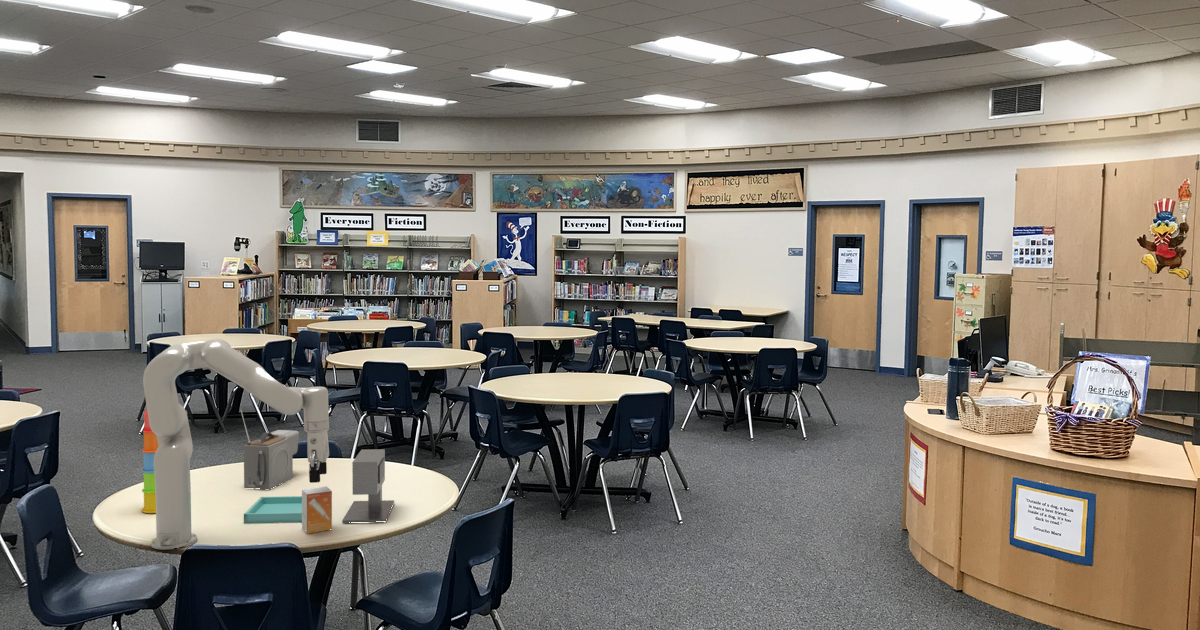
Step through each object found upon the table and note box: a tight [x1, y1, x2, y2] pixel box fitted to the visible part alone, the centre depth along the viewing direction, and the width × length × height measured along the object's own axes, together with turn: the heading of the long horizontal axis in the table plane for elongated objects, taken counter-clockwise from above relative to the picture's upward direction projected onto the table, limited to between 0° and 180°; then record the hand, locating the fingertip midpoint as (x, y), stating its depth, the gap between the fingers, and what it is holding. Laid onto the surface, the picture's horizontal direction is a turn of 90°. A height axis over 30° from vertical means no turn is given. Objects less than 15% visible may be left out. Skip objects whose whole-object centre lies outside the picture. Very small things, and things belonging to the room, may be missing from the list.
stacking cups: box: [141, 409, 159, 514], centre depth 284 cm, size 10×10×35 cm
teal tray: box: [243, 495, 302, 524], centre depth 284 cm, size 20×22×3 cm
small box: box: [301, 485, 333, 534], centre depth 267 cm, size 8×6×13 cm
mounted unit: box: [341, 448, 395, 524], centre depth 284 cm, size 22×14×20 cm, turn 7°
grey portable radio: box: [240, 409, 300, 490], centre depth 321 cm, size 12×24×30 cm, turn 172°
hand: (318, 478), depth 266 cm, fingers open, 9 cm apart
